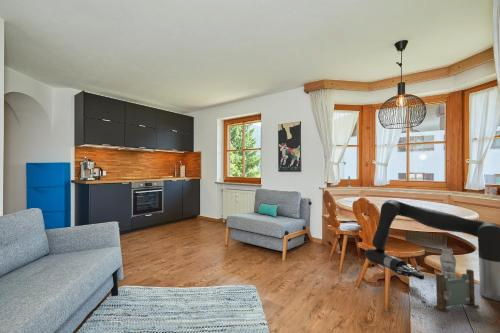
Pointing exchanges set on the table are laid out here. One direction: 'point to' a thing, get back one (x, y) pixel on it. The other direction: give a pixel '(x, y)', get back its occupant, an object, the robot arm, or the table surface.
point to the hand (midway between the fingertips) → (422, 277)
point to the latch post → (441, 293)
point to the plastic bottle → (448, 263)
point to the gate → (457, 290)
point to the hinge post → (471, 289)
